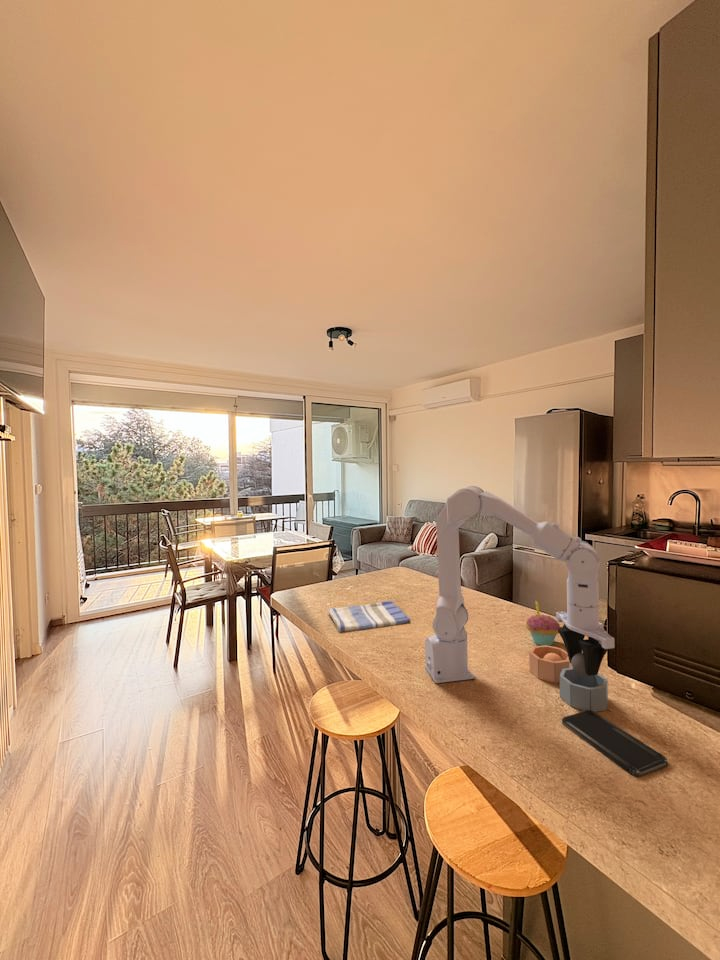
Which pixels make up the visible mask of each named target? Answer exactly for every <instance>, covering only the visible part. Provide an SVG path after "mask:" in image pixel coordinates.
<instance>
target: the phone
mask: <svg viewBox="0 0 720 960" xmlns="http://www.w3.org/2000/svg"><path fill="white" fill-rule="evenodd" d="M561 720H562V722H561V723H562V725H563V726H564V727H565V728H566V729H568V730H570V731H571V732H572V733H573V734H575V735H576V737H579V738H580V739H581V740H583V741H584V742H585V743H587V744H588V745H589V746H591V747H592V748H594V749H595V750H596V751H598V752H599V753H600V754H602V755H603V756H604V757H605V758H608V759H609V760H610V761H611V762H613V763H614V764H615V765H617V766H618V767H619V768H620V769H622V770H624V771H625V772H626V773H628V774H629V775H631V776H633V777H635V778H641V777H642V778H643V777H645V776H647V775H650V774H652V773H655V772H657V771H660V770H662V769H665V768H667V767H668V765H669V764H668V758H667V757H666V756H665V755H663V754H662V753H660V752H659V751H657V750H655V749H653V747H650V745H647V744H646V743H644V742H643V741H642V740H640V739H638V738H636V737H635V736H633V735H631V734H630V733H629V732H627V731H626V730H624V729H623V728H621V727H619V726H617V725H616V724H614V723H613V722H611V721H609V720H608V719H607V718H605V717H603V716H602V715H600V714H598V713H597V711H596V712H594V711H590V710H586V711H585V710H582V711H579V712H577V713H573V714H570V715H566V716H563V717H562V719H561Z"/></svg>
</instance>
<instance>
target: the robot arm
mask: <svg viewBox="0 0 720 960" xmlns="http://www.w3.org/2000/svg"><path fill="white" fill-rule="evenodd" d="M479 512H480V513H479ZM477 513H479V516H480V517H496V518H498V519H500V520H502V521H503V522H505V523H507V524H509V525H510V526H513V528H516V529H518V530H520V531H521V532H523V533H524V534H526V535H528V537H529V538H530V541H531V544H532V545H533V546H535V547H537V548H538V549H540V550H542V552H544V553H546V554H547V555H549V556H550V557H553V558H554V559H555V560H557V561H558V562H564V563H565V565H566V567H567V569H568V572H567V573H568V577H567V578H566V609H567V610H566V611H556V612H555V613H556V614H555V618H556V619H555V620H556V621H557V622H558V623H563V626H560V627H559V628H558V632H559V633H558V635H560V638H561V639H562V641H563V644H564V647H565V651H566V652H567V654H568V658H569V661H570V663H571V660H572V658H573V656H574V655H575V654H577V653H583V655H584V662H585V671H586V674H587V675H589V676H591V675H598V673H599V670H600V667H601V664H602V662H603V659H604V657H605V655H606V654H607V652H608V651H609V650H610V649H615V646H616V645H615V637H613V636H611V635H610V634H609V632H607V631H606V630H605V628H604V623H602V622H600V606H599V605H600V593H599V592H600V591H599V589H600V588H599V587H600V584H599V580H598V578H599V573H598V571H599V570H600V567H601V562H600V559H599V555H598V552H597V551H596V549H595V548H594V546H592V545H591V544H589V542H587V541H584V540H582V538H581V537H579V536H576V537H575V536H573V535H571V534H569V533H567V532H566V531H565V530H562V529H561V528H560V524H558V523H557V522H554V521H553V523H551V522H550V521H542V522H537V521H536V520H534V519H533V518H531V517H529V516H528V515H526V514H525V513H524V512H522V511H520V510H519V509H517V508H516V507H515V506H513V505H511V504H510V503H508V502H506V501H505V500H504V499H502V498H500V497H499V496H497V495H495V494H493V493H491V492H489V491H484V490H483V489H482V488H481V487H478V486H476V485H471V486H467V487H465V488H460V489H458V490H455V492H454V493H452V494H451V495H450V496H448V497H447V499H446V501H445V504H444V506H443V507H442V509H441V511H440V512H439V514H438V516H437V517H436V520H435V521H436V522H435V523H436V525H435V526H436V527H435V528H436V529H435V531H436V547H437V548H436V549H437V550H436V551H437V554H436V555H437V571H438V572H437V573H438V575H437V576H438V599H437V603H436V608H435V616H434V618H433V621H432V630H433V632H434V633H435V634H433V635H431V636H428V637H426V638H425V642H424V644H425V645H424V648H425V650H424V652H425V665H424V668H425V669H426V671H427V673H428V674H429V675H430V676H431V678H432V680H433V682H434V683H436V684H440V683H449V682H457V681H465V680H466V681H467V680H473V679H476V675H475V674H473V672H472V671H471V670H470V669H469V666H468V665H469V662H468V659H469V656H468V655H469V654H468V651H469V650H468V633H467V630H466V628H465V625H467V623H468V620H469V612H468V609H467V607H466V606H465V599H464V596H463V594H462V581H461V561H460V559H461V558H460V554H461V553H460V533H459V527H460V526H462V524H463V523H464V522H466V521H467V520H468V518H471V517H473V516H475V515H476V514H477ZM585 637H587V639H585Z"/></svg>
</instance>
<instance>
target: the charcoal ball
mask: <svg viewBox="0 0 720 960" xmlns="http://www.w3.org/2000/svg"><path fill="white" fill-rule="evenodd" d="M571 664H572V668H573V669H574V671H575V672H576V673H577V674H579V675H581V676H589V675H587V674H586V671H585V662H584V655H583V652H582V653H577V654H575V655H574V656H573V658H572V660H571Z"/></svg>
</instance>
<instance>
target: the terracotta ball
mask: <svg viewBox="0 0 720 960" xmlns="http://www.w3.org/2000/svg"><path fill="white" fill-rule="evenodd" d="M543 659H546V660H550V661H562V658H561V657H560V656H559V655H557V654H555V653H548V654H546V655H545V656H544V658H543Z"/></svg>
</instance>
